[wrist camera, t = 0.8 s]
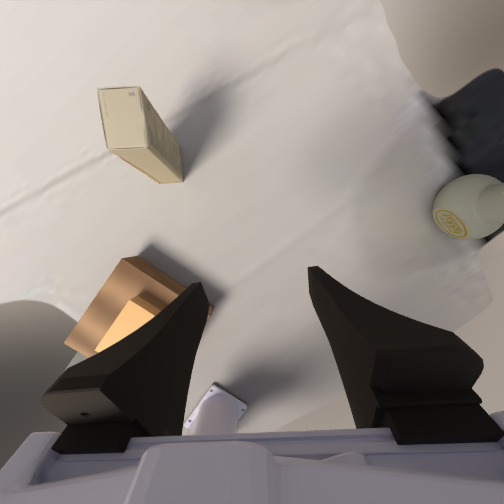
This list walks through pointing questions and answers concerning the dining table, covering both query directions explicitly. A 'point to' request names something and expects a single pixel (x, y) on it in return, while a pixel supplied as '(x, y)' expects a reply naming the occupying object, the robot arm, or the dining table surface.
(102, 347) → the block
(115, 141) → the skincare box
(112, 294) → the panel
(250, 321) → the dining table surface
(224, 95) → the dining table surface
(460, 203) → the air freshener
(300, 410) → the dining table surface
